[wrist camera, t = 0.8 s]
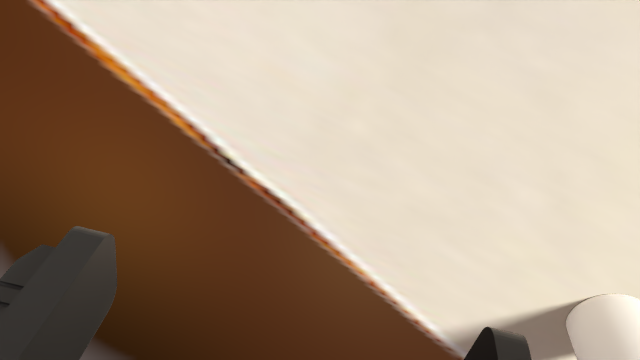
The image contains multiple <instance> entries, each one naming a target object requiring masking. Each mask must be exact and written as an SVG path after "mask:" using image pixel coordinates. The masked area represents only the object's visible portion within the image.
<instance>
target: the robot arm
mask: <svg viewBox="0 0 640 360" xmlns="http://www.w3.org/2000/svg"><path fill="white" fill-rule="evenodd" d="M116 287H117V273H116V253H115V239H114V236H113V235H112V234H108V233H104V232H99V231H95V230H91V229H87V228H83V227H79V226H76V227H74V228H72V229H71V230H70V231H69V232H68V233H67V234H66V236H65V237H64V238H63V239H62V240H61V242H60V243H59V244H58V245H57V247H56V248H54V247H50V246H46V245H41V246H39V247H37V248H36V249H34V250H32V251H31V252H29V253H27V254H26V255H24V256H23V257H21V258H19V259H18V260H16V261H15V263H14V264H13V265H12V266H11V267H10V268H9V269H8V271H7V272H6V273H5V274H4V275H3V277H2V278H1V279H0V360H79V359H80V358H81V356H82V354H83V353H84V351H85V349H86V348H87V346H88V344H89V343H90V341H91V339H92V337H93V336H94V334H95V332H96V331H97V329H98V328H99V326H100V324H101V322H102V321H103V319H104V318H105V316H106V314H107V312H108V311H109V309H110V307H111V304H112V302H113V299H114V296H115V292H116ZM464 360H531V356H530V351H529V347H528V344H527V341H526V339H525V337H524V336H522V335H519V334H515V333H511V332H507V331H503V330H499V329H495V328H490V327H486V328H484V329H483V330H482V332H481V333H480V335H479V336H478V338H477V340H476V341H475V343H474V344H473V346H472V348H471V349H470V351H469V352H468V354H467V356H466V357H465V359H464Z"/></svg>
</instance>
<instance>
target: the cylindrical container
mask: <svg viewBox="0 0 640 360" xmlns="http://www.w3.org/2000/svg"><path fill="white" fill-rule="evenodd" d="M566 328H567V331H568V334H569V337H570V340H571V343H572V346H573V349H574V352H575V355H576V357H577V360H640V300H639V299H637V298H634V297H632V296H628V295H624V294H605V295H599V296H595V297H592V298H589V299H587V300H585V301H583V302H581V303H580V304H578V305H577V306H575V307H574V308H573V309H572V310H571V312H570V313H569V315H568V317H567V319H566Z"/></svg>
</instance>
